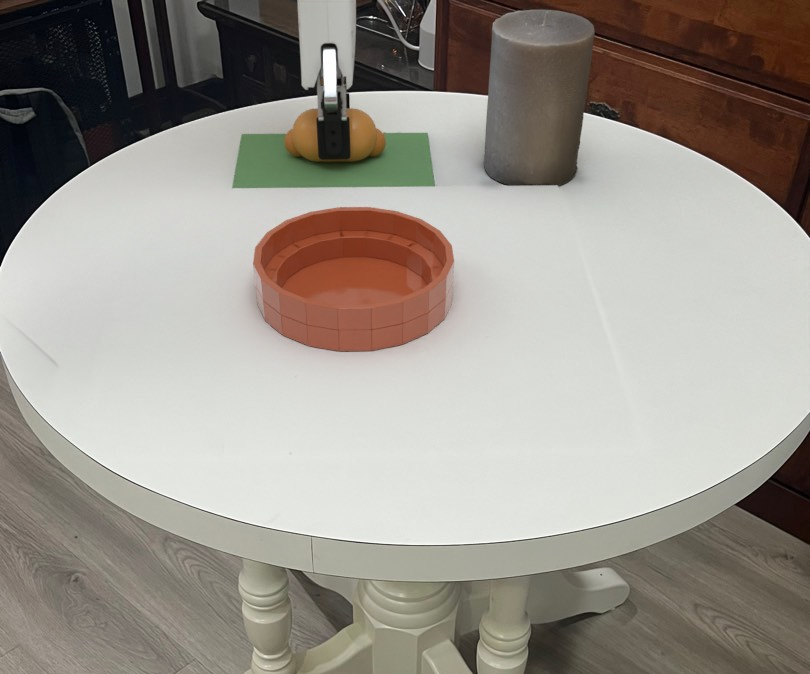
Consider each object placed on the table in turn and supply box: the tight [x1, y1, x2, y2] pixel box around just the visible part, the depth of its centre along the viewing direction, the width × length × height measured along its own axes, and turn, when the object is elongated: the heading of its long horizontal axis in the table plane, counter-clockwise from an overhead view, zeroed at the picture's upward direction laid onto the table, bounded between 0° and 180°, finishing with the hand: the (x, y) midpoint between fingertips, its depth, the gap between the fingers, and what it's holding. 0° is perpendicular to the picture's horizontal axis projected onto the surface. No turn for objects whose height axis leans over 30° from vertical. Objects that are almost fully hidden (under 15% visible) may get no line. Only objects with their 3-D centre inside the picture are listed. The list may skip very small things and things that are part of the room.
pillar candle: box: [483, 9, 596, 187], centre depth 97 cm, size 10×10×15 cm
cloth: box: [231, 132, 436, 189], centre depth 102 cm, size 20×13×1 cm, turn 92°
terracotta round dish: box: [252, 206, 455, 352], centre depth 82 cm, size 16×16×4 cm
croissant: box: [284, 107, 386, 162], centre depth 101 cm, size 10×5×5 cm, turn 92°
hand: (334, 143), depth 101 cm, fingers closed on croissant, 5 cm apart
